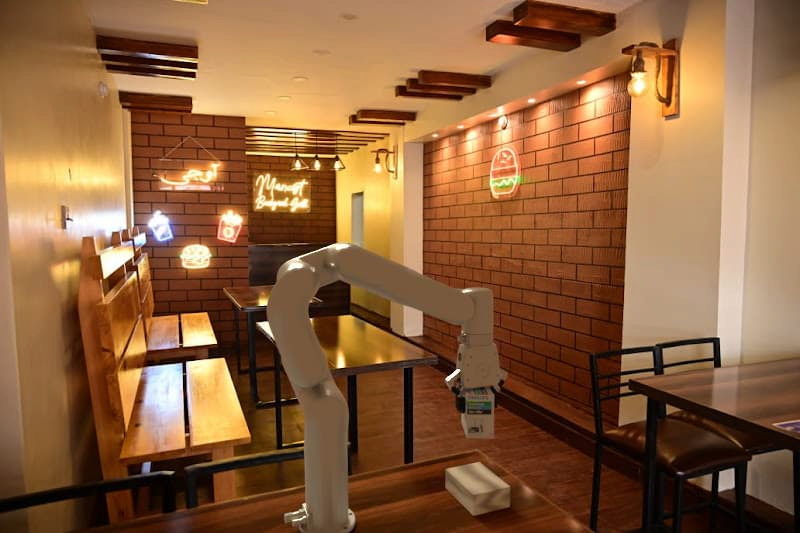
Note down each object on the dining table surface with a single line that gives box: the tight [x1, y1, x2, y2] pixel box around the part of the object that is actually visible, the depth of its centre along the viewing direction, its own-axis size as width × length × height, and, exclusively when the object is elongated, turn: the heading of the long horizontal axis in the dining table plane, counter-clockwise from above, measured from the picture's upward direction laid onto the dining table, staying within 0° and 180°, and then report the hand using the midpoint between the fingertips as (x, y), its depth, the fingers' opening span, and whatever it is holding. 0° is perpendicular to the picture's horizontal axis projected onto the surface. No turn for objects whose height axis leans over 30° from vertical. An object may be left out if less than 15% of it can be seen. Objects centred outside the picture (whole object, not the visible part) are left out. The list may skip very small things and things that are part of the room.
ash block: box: [444, 461, 511, 517], centre depth 129 cm, size 10×14×5 cm
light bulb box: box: [460, 386, 495, 439], centre depth 127 cm, size 11×7×11 cm, turn 1°
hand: (477, 408), depth 127 cm, fingers closed on light bulb box, 8 cm apart
